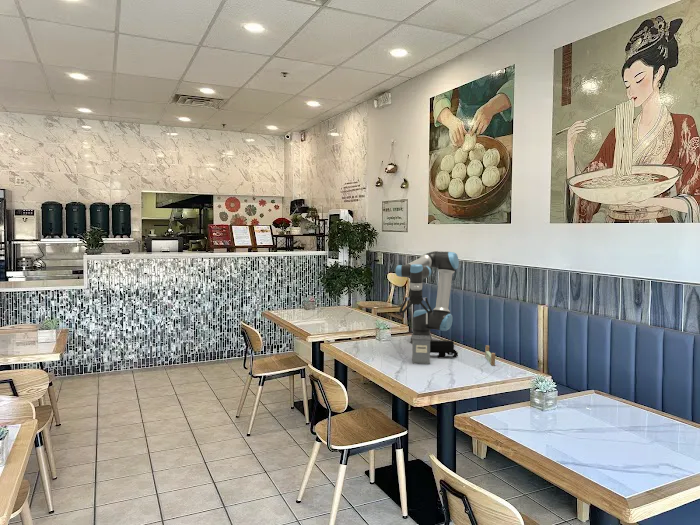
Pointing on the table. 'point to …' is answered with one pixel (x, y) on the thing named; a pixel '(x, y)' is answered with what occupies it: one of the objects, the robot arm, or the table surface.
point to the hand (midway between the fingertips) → (415, 323)
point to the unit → (421, 349)
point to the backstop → (490, 356)
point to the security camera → (443, 348)
